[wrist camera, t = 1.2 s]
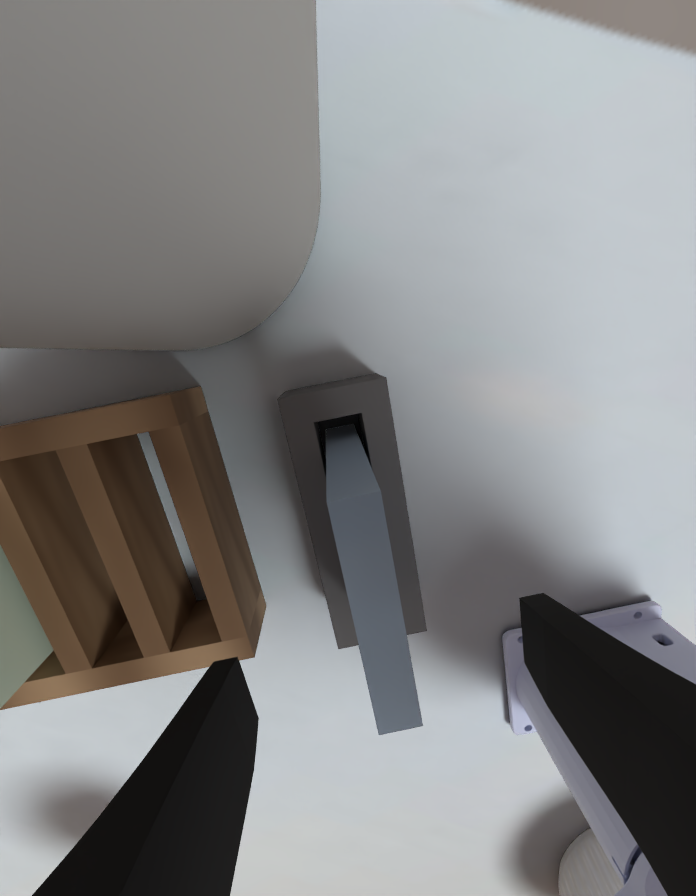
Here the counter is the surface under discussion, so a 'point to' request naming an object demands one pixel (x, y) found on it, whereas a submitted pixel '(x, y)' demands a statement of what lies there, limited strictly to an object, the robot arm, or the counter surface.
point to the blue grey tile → (370, 580)
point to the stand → (382, 453)
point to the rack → (125, 545)
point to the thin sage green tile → (17, 634)
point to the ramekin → (587, 869)
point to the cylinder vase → (154, 169)
